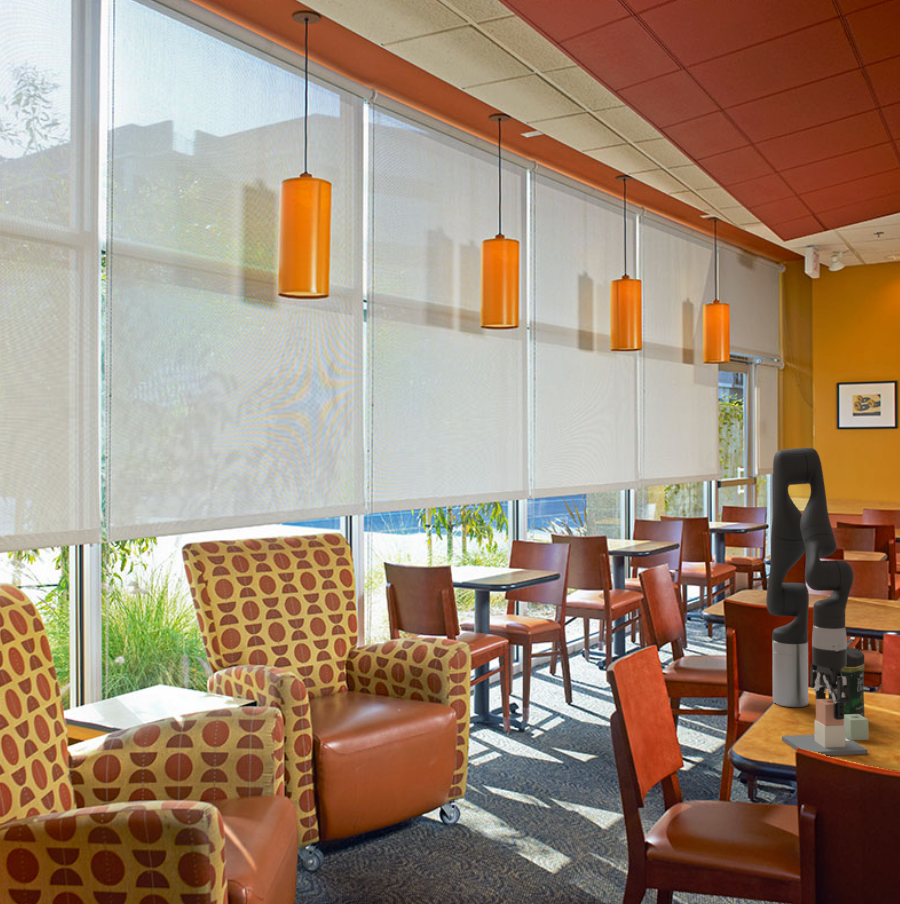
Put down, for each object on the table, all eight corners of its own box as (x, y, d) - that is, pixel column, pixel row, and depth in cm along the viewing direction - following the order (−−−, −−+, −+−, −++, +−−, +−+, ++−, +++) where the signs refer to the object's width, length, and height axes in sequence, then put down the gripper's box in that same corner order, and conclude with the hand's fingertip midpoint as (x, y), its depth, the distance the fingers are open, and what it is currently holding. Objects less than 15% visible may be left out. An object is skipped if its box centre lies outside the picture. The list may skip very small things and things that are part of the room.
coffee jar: (855, 727, 234) (854, 654, 234) (823, 721, 239) (823, 649, 239) (869, 719, 241) (868, 648, 241) (838, 713, 246) (838, 643, 246)
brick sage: (841, 734, 229) (841, 713, 229) (858, 734, 229) (858, 712, 229) (850, 740, 224) (850, 718, 224) (868, 739, 225) (868, 717, 225)
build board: (781, 740, 225) (781, 715, 225) (841, 737, 226) (840, 713, 226) (805, 756, 213) (805, 730, 213) (867, 753, 214) (867, 728, 214)
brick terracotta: (815, 720, 221) (815, 697, 221) (834, 719, 221) (833, 696, 221) (825, 725, 216) (825, 702, 216) (843, 725, 217) (843, 702, 217)
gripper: (799, 639, 225) (800, 705, 226) (829, 652, 211) (829, 723, 211) (829, 638, 226) (829, 704, 226) (860, 651, 212) (861, 722, 212)
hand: (829, 713), depth 219 cm, fingers open, 8 cm apart
